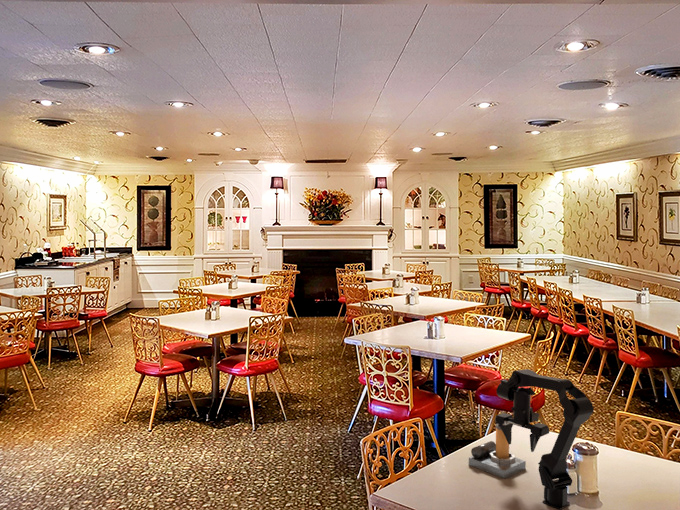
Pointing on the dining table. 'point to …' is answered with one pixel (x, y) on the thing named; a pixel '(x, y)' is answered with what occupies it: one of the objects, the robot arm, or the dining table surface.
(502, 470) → the octagonal ring base plate
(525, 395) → the robot arm
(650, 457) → the dining table surface
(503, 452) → the lidded container
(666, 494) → the dining table surface
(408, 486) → the dining table surface
